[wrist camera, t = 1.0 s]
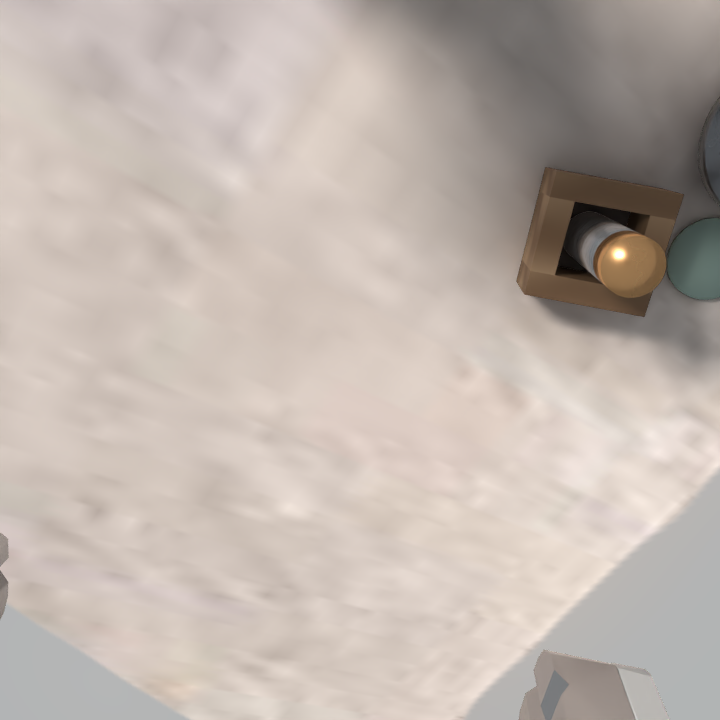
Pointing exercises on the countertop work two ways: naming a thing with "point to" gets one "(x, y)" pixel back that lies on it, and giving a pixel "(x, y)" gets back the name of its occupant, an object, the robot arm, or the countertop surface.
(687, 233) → the coaster
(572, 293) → the block
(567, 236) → the orange topped grey cylinder
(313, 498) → the countertop surface
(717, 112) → the handwheel
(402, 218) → the countertop surface
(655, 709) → the robot arm
